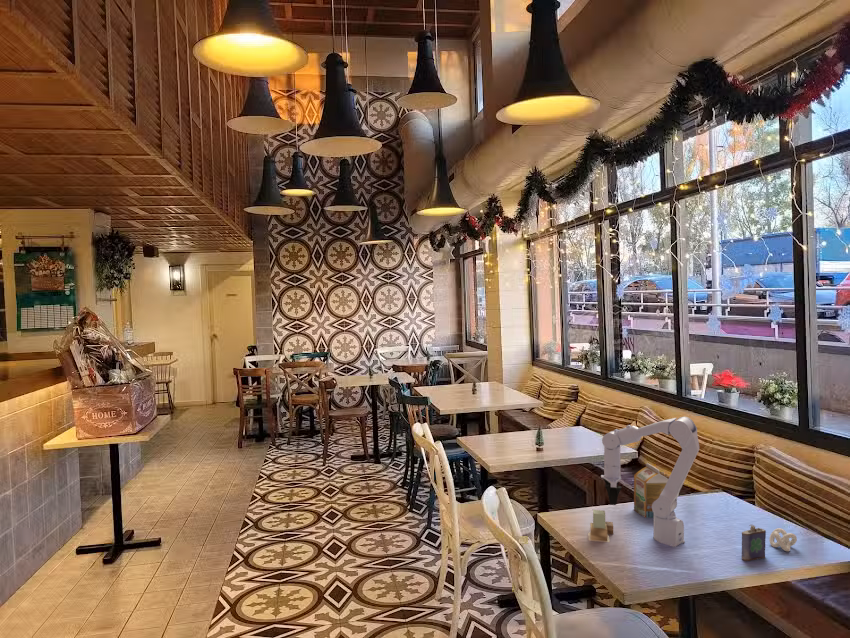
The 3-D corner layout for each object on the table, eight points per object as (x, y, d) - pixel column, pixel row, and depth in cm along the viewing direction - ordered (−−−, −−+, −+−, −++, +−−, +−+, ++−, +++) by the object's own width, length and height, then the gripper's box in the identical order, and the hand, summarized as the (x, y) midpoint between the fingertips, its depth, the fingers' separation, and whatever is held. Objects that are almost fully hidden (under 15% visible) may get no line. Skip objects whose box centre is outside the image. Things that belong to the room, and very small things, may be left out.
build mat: (637, 540, 208) (637, 538, 208) (615, 551, 199) (615, 549, 199) (601, 528, 219) (601, 526, 219) (578, 538, 209) (578, 536, 209)
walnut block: (612, 530, 216) (612, 522, 216) (613, 534, 212) (613, 526, 212) (601, 529, 217) (601, 521, 217) (601, 533, 213) (601, 525, 213)
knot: (762, 545, 203) (762, 528, 203) (779, 541, 206) (779, 525, 206) (782, 553, 196) (782, 536, 196) (799, 550, 199) (799, 532, 199)
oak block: (606, 535, 211) (606, 524, 211) (607, 541, 206) (607, 529, 206) (590, 533, 212) (590, 522, 212) (590, 539, 207) (590, 528, 207)
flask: (746, 561, 190) (746, 528, 190) (738, 558, 193) (738, 525, 193) (767, 557, 193) (767, 525, 193) (759, 554, 196) (759, 522, 196)
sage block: (604, 524, 210) (604, 510, 210) (605, 528, 206) (605, 514, 206) (593, 523, 211) (593, 509, 211) (593, 527, 207) (593, 513, 207)
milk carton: (634, 509, 239) (634, 463, 238) (659, 509, 240) (659, 462, 239) (645, 519, 228) (645, 470, 228) (672, 518, 229) (672, 469, 229)
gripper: (600, 458, 226) (600, 494, 226) (602, 469, 212) (601, 506, 212) (619, 459, 224) (619, 495, 224) (622, 470, 210) (622, 508, 210)
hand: (612, 501), depth 218 cm, fingers open, 7 cm apart
